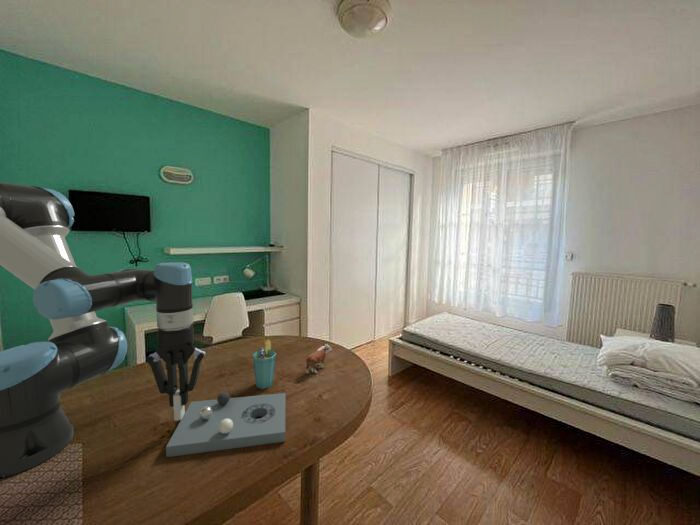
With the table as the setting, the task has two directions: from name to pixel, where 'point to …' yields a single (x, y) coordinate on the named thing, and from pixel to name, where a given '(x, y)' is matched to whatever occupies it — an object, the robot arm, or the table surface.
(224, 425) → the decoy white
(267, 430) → the plate
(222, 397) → the matte dark gray ball
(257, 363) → the cup
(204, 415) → the steel ball
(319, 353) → the bull figurine
